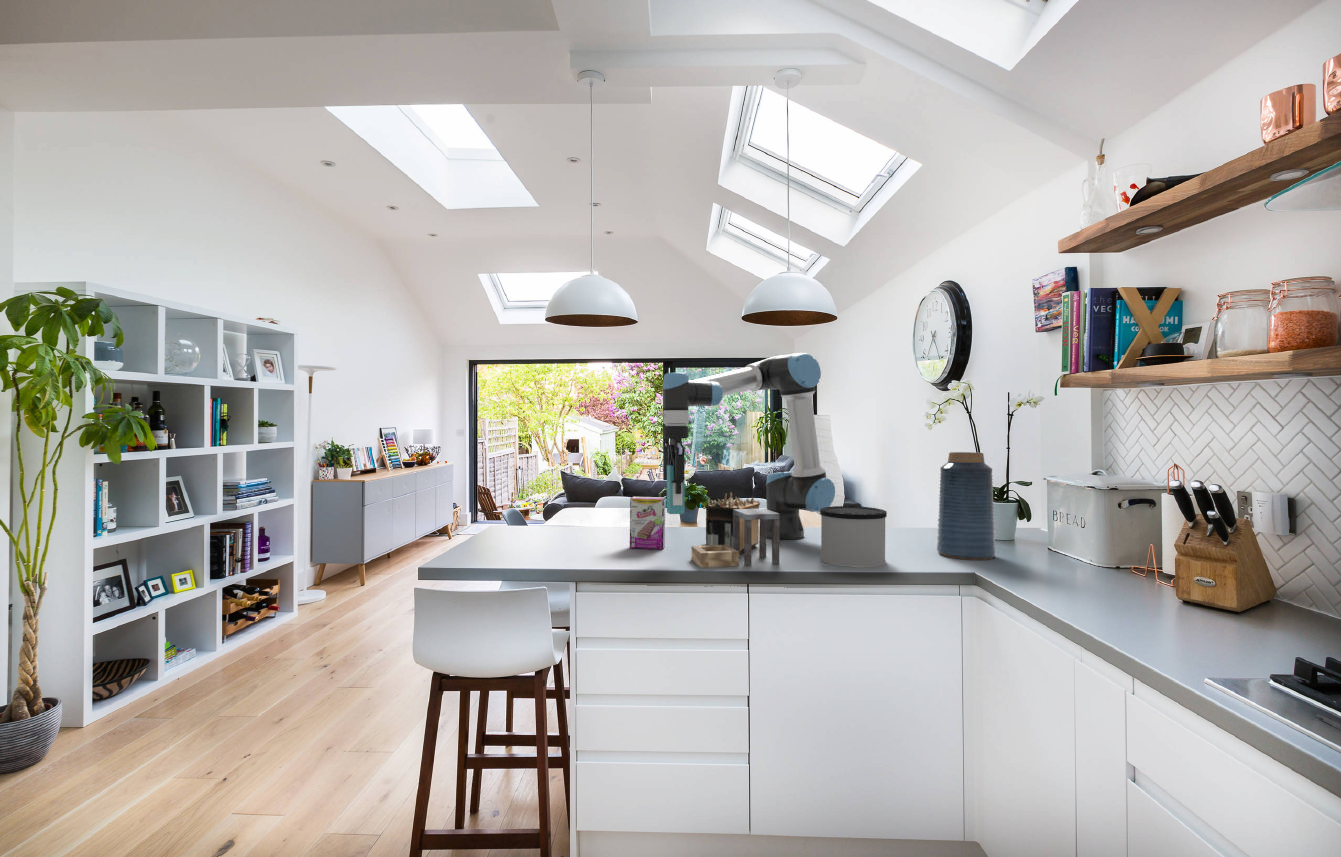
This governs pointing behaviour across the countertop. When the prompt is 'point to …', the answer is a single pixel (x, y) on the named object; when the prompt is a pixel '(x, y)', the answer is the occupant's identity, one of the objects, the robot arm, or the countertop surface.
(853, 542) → the container
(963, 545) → the vase
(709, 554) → the socket station
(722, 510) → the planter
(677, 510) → the peg
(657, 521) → the candy bar box
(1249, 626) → the countertop surface
